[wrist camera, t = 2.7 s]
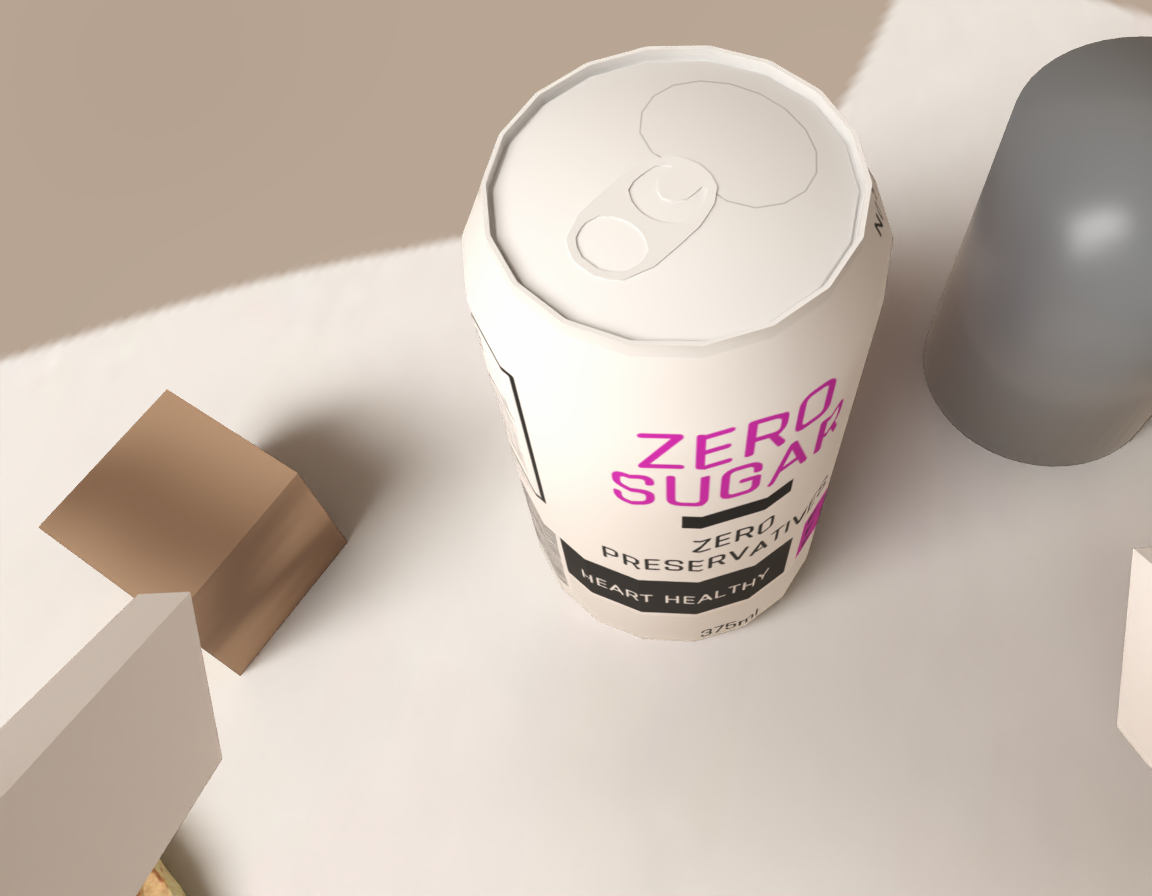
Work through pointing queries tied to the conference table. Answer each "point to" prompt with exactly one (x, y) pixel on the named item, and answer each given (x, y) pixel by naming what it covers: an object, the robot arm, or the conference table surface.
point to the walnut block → (201, 526)
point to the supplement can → (676, 326)
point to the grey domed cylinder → (1057, 270)
